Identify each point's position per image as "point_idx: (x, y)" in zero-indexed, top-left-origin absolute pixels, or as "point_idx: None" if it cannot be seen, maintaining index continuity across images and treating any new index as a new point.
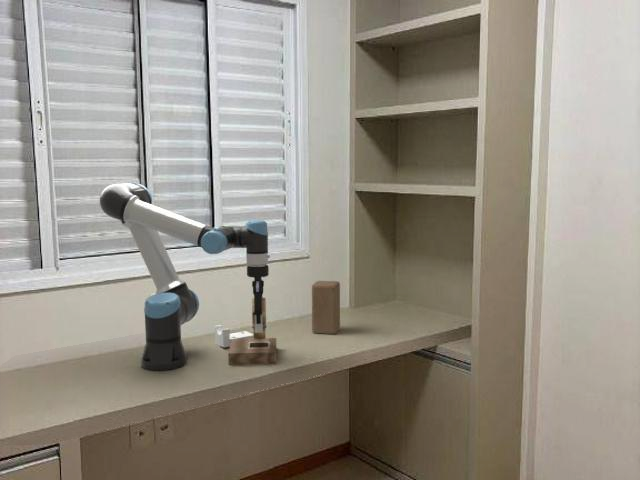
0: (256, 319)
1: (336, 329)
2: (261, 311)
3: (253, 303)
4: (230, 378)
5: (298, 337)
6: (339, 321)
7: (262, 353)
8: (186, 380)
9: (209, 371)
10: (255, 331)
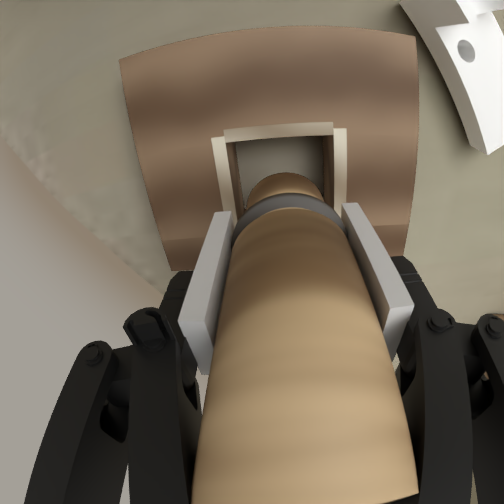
0: (163, 301)
1: None
2: (110, 403)
3: (213, 447)
4: (28, 129)
5: (475, 285)
6: None
7: (155, 218)
8: (10, 17)
9: (71, 28)
10: (214, 220)
